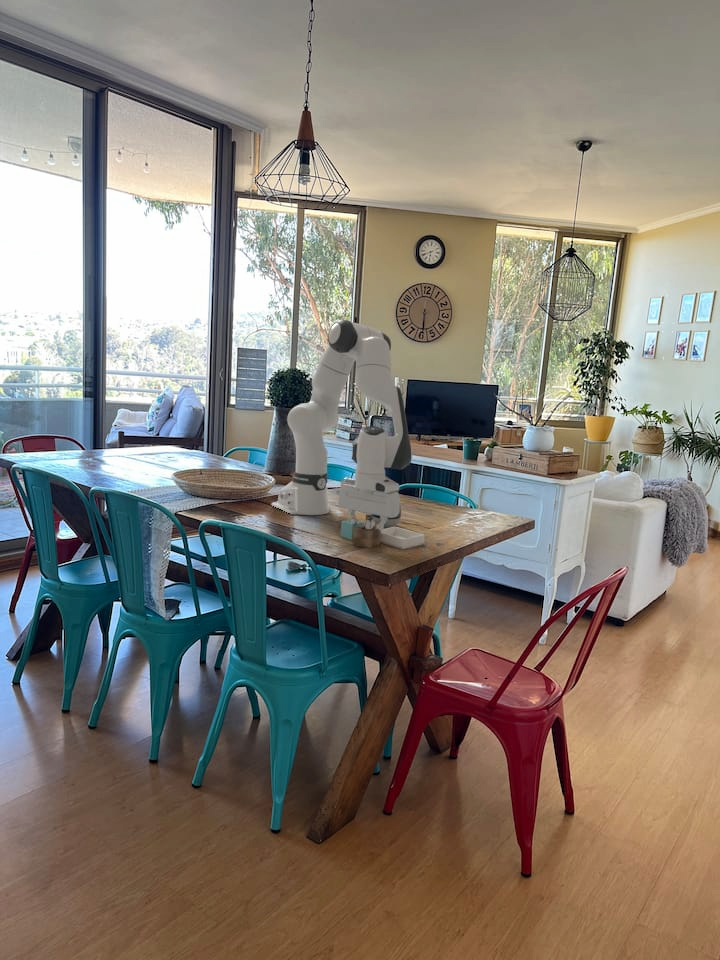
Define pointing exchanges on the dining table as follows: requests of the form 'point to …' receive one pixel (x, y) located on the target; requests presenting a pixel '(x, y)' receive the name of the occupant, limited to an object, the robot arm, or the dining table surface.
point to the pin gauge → (369, 522)
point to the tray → (401, 537)
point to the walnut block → (366, 537)
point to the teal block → (349, 528)
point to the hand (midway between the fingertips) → (366, 526)
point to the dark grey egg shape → (388, 520)
